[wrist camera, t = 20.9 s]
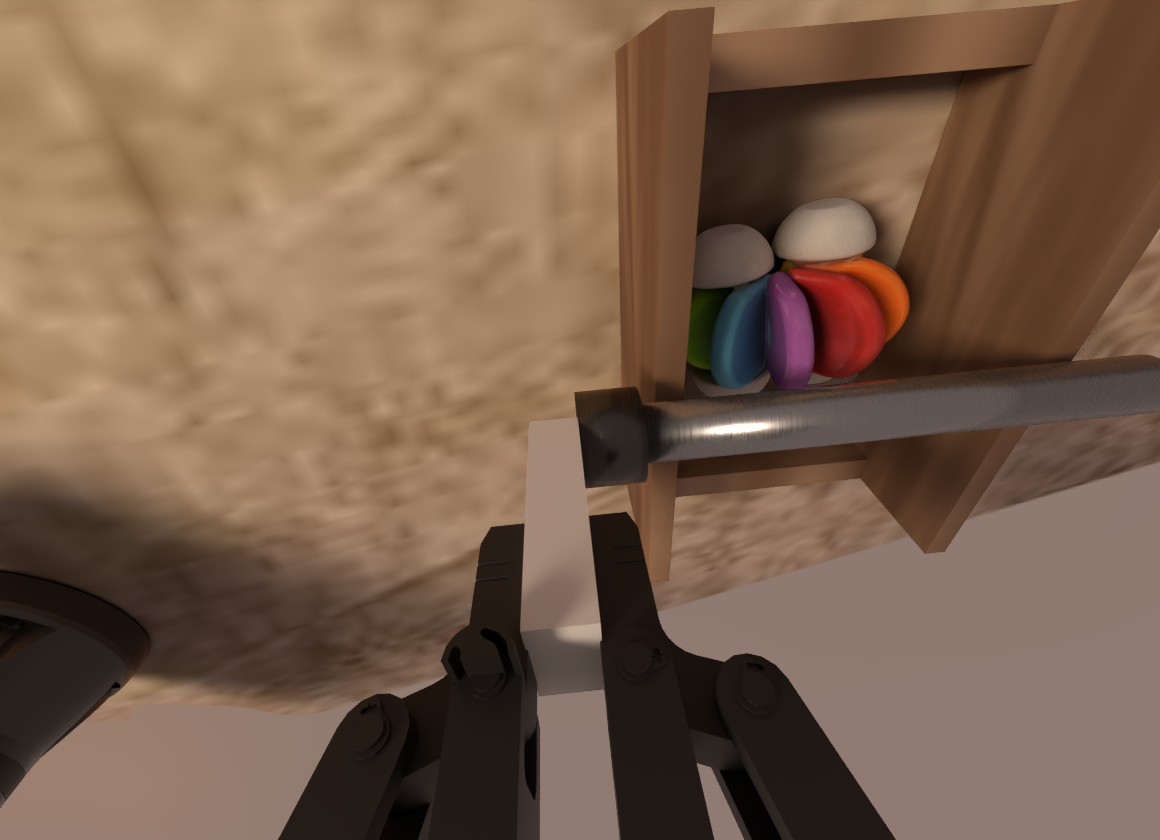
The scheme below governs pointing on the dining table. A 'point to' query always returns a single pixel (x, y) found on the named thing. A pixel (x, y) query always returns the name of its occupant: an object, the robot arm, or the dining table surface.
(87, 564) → the dining table surface
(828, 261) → the rainbow disc toy
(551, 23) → the dining table surface
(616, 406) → the rod
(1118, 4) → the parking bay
